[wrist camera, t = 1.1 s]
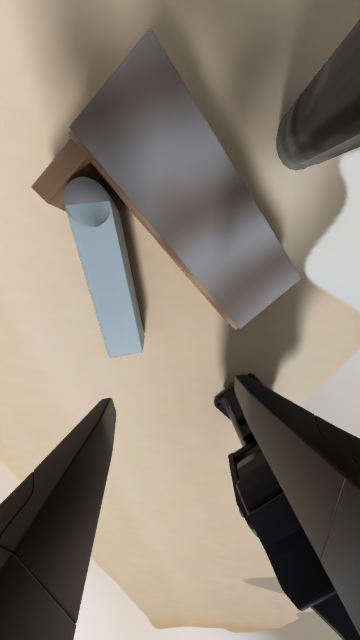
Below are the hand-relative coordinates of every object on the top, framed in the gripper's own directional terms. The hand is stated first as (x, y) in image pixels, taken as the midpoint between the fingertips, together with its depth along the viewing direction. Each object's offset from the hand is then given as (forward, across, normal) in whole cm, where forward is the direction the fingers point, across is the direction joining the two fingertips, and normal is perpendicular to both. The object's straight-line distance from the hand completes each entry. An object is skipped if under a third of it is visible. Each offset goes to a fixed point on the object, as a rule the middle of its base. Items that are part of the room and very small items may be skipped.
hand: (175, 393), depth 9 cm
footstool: (+12, -2, -7) cm, 14 cm away
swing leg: (+12, +4, -5) cm, 13 cm away
